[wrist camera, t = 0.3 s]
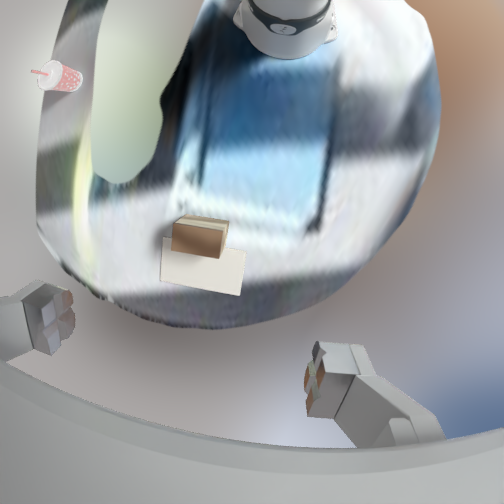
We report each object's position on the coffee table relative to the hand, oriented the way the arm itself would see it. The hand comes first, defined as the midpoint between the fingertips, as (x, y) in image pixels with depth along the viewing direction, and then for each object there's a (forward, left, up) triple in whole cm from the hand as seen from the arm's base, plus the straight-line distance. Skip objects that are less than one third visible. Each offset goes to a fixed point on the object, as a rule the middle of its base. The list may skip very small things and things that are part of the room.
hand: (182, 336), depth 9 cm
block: (+9, -8, -46) cm, 47 cm away
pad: (+16, -8, -46) cm, 49 cm away
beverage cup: (-18, -41, -46) cm, 64 cm away
